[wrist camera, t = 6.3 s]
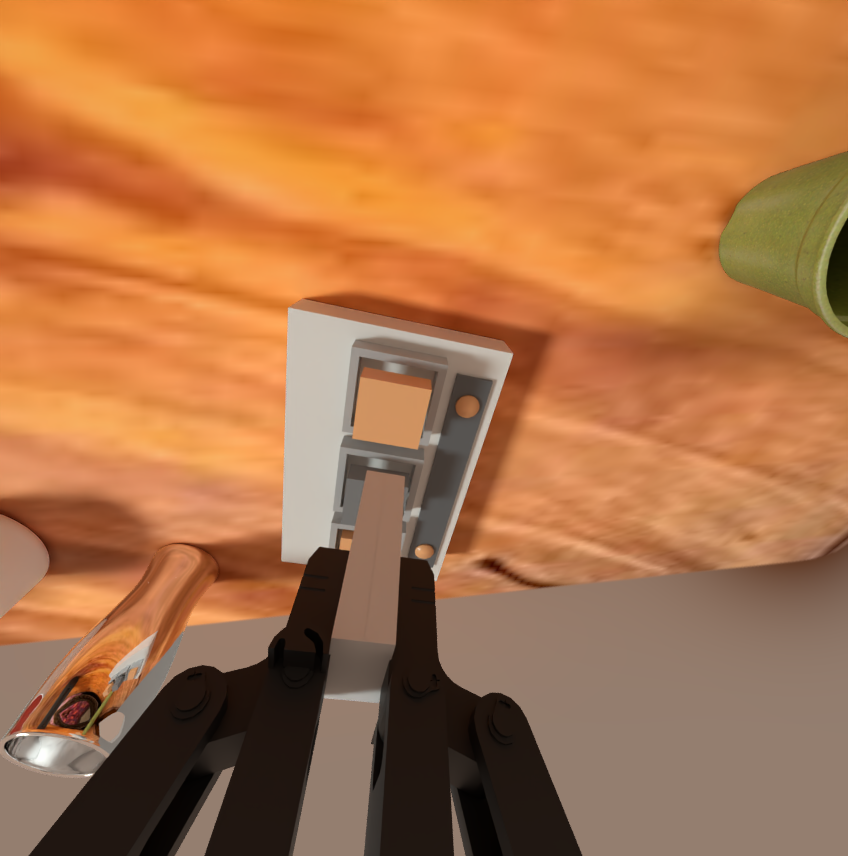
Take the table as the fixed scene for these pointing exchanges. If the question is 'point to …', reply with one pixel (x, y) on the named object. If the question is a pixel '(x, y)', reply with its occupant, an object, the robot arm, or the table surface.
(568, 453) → the table surface
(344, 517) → the key middle
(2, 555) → the cup
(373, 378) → the key
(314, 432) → the console
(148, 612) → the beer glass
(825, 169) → the plant pot
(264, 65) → the table surface
